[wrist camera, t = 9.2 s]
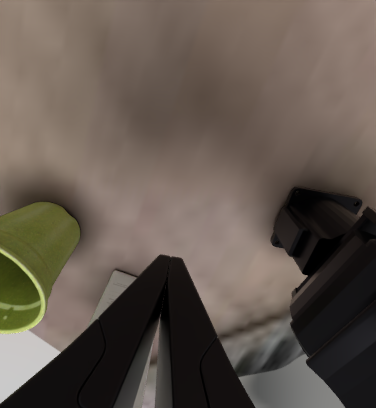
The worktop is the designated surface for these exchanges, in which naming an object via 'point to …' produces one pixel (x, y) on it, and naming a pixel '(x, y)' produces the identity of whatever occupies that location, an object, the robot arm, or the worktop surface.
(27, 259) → the plant pot
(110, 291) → the skincare box
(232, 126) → the worktop surface
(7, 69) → the worktop surface
